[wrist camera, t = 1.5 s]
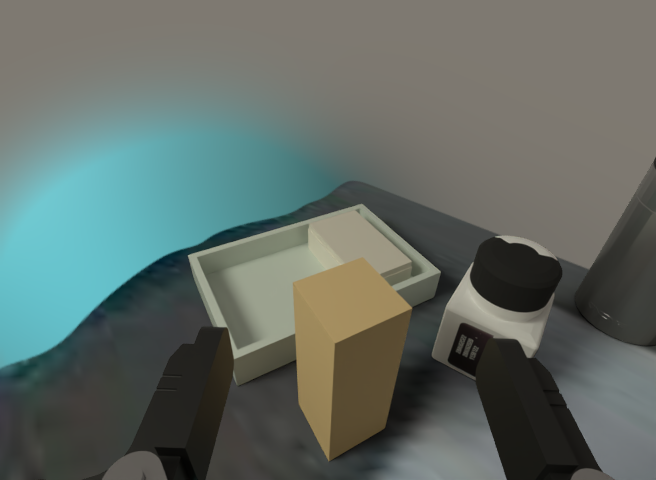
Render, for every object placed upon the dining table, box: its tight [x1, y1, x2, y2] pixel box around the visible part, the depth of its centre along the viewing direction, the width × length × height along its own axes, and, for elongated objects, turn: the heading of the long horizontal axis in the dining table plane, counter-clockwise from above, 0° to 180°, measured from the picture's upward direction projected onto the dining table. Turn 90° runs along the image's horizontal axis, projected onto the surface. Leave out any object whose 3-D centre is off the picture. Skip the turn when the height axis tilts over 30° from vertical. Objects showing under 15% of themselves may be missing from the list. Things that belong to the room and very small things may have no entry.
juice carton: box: [293, 257, 412, 461], centre depth 29 cm, size 6×6×15 cm
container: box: [432, 236, 562, 381], centre depth 35 cm, size 8×8×13 cm
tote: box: [188, 204, 441, 386], centre depth 44 cm, size 24×16×4 cm, turn 119°
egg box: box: [308, 210, 412, 286], centre depth 46 cm, size 7×12×4 cm, turn 29°
